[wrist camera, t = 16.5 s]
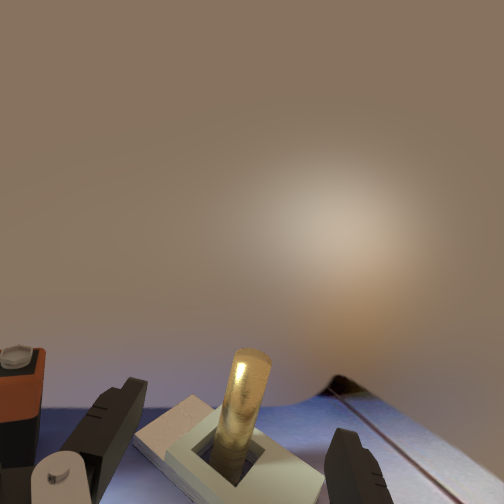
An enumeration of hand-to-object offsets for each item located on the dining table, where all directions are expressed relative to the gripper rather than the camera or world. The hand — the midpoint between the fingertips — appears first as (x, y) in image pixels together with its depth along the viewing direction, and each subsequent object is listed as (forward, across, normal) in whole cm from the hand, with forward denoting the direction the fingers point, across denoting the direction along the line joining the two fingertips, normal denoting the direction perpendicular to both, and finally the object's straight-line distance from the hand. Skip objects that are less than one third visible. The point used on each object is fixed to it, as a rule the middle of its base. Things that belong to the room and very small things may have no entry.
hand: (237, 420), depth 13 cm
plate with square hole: (+11, -3, +17) cm, 21 cm away
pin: (+12, -2, +17) cm, 21 cm away
